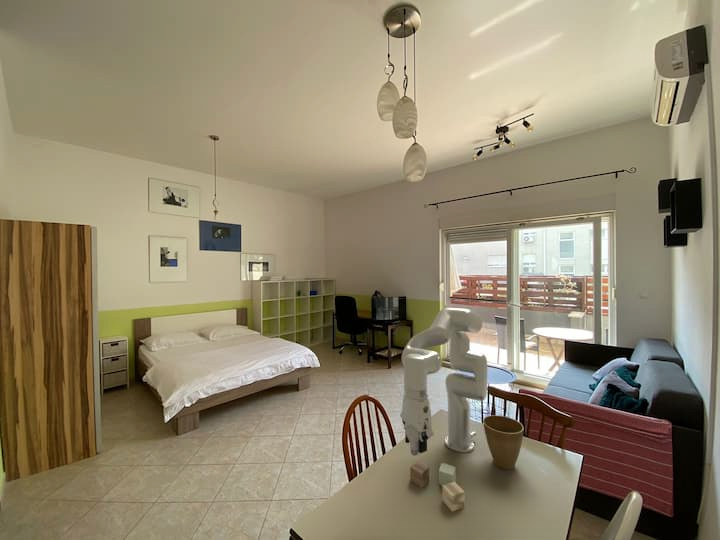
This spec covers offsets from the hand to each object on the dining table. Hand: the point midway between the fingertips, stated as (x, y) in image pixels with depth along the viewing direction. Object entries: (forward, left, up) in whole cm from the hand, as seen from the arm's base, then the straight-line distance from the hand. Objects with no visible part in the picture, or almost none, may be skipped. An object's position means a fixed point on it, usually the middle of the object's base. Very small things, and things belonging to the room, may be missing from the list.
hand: (415, 446), depth 96 cm
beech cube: (-11, +6, -19) cm, 23 cm away
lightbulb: (0, 0, -3) cm, 3 cm away
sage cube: (-17, -2, -19) cm, 26 cm away
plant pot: (-45, +2, -19) cm, 49 cm away
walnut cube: (-9, -8, -19) cm, 23 cm away
